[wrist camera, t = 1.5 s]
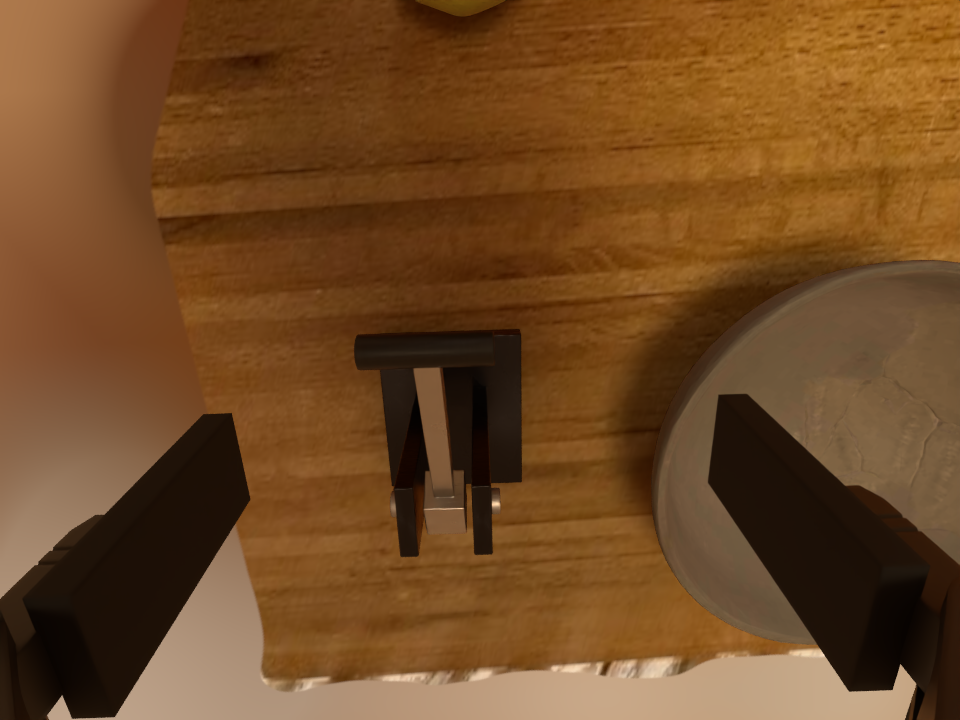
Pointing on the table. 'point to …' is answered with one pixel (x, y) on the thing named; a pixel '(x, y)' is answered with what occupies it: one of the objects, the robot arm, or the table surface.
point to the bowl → (820, 421)
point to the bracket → (457, 438)
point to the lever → (432, 406)
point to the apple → (461, 6)
